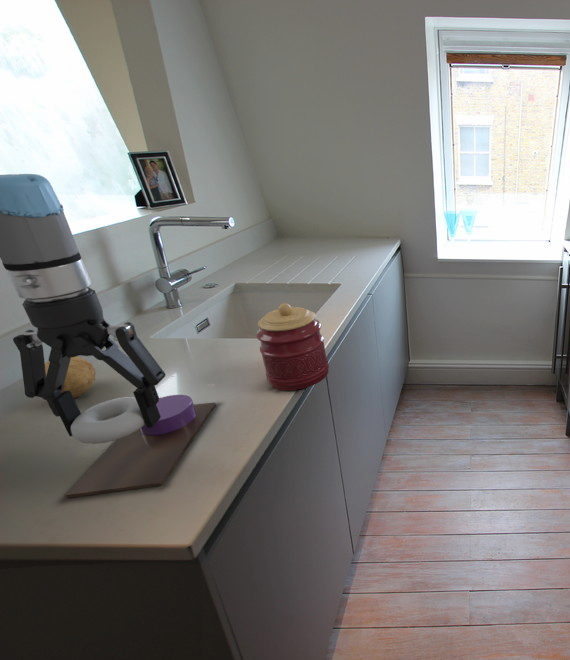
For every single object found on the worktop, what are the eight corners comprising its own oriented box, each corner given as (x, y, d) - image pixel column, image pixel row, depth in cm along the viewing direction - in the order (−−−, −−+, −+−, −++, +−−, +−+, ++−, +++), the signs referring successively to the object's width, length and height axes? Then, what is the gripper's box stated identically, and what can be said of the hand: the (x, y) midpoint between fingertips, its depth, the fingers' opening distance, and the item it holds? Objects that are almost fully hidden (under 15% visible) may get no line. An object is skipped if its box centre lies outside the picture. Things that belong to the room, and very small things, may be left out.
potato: (101, 374, 102) (88, 343, 99) (103, 400, 92) (88, 366, 89) (43, 389, 96) (27, 356, 93) (38, 418, 86) (20, 382, 83)
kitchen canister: (328, 386, 96) (314, 311, 89) (263, 396, 93) (243, 318, 86) (330, 359, 108) (318, 291, 100) (273, 367, 104) (255, 296, 97)
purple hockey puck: (129, 438, 80) (123, 424, 78) (154, 409, 88) (149, 397, 86) (184, 432, 81) (179, 418, 80) (204, 405, 89) (200, 392, 88)
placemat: (66, 498, 67) (65, 495, 67) (144, 412, 88) (143, 409, 88) (161, 485, 70) (160, 482, 69) (216, 404, 90) (215, 402, 90)
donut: (142, 441, 67) (164, 404, 76) (134, 422, 66) (157, 387, 74) (62, 455, 64) (93, 416, 73) (51, 436, 63) (85, 398, 71)
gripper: (-66, 309, 56) (15, 451, 65) (135, 296, 59) (185, 431, 69) (-16, 290, 62) (51, 421, 71) (162, 279, 66) (204, 405, 75)
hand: (116, 426), depth 70 cm, fingers closed on donut, 10 cm apart
